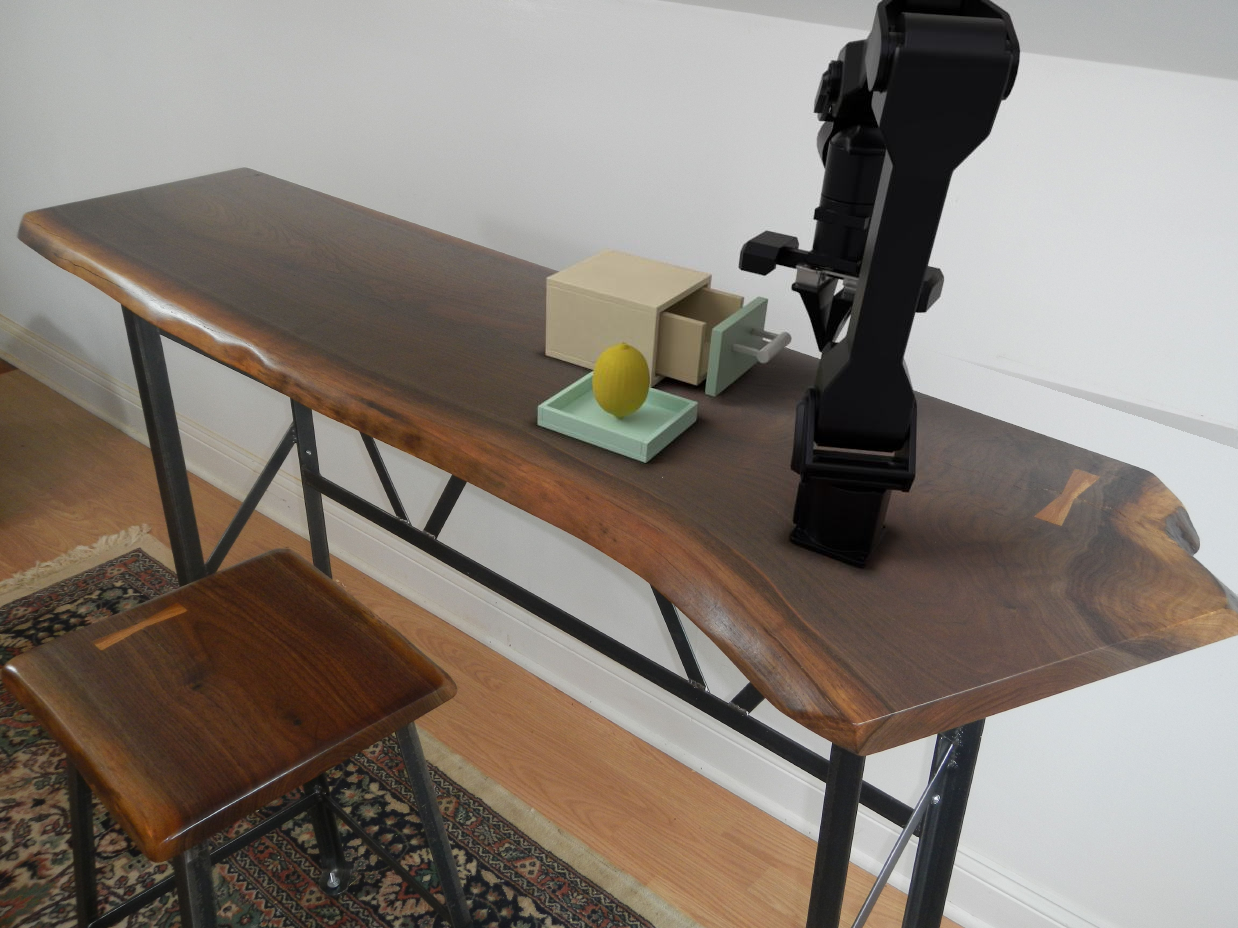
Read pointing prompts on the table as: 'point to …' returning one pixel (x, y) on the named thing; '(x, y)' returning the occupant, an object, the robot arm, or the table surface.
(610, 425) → the tray
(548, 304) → the cabinet
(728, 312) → the drawer
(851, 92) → the robot arm
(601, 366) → the lemon
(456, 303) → the table surface
